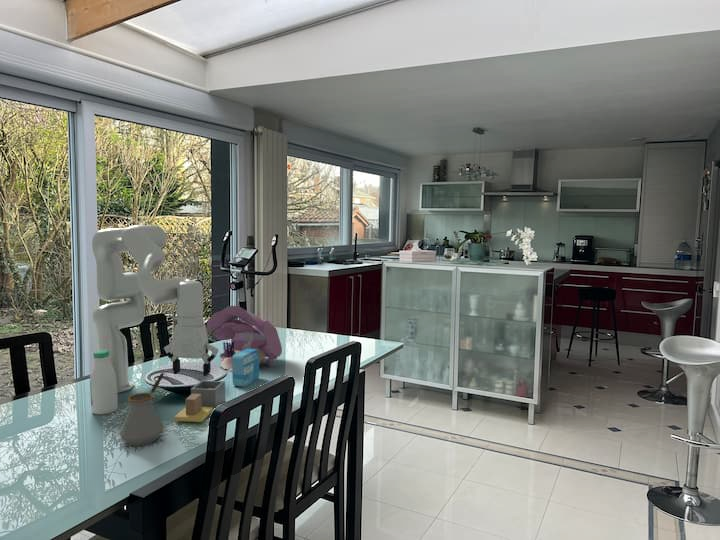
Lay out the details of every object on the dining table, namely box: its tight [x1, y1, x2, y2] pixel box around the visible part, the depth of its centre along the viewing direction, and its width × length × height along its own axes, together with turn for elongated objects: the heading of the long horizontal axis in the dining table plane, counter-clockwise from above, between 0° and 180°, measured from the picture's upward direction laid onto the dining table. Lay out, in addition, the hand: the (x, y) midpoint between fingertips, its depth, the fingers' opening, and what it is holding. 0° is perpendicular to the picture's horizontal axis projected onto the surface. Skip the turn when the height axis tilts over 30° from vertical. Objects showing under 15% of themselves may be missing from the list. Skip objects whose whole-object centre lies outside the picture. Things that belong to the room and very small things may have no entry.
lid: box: [173, 393, 214, 423], centre depth 162 cm, size 9×9×7 cm
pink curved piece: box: [205, 305, 283, 372], centre depth 217 cm, size 35×24×28 cm
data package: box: [231, 348, 260, 388], centre depth 195 cm, size 12×4×12 cm, turn 161°
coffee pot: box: [119, 372, 168, 447], centre depth 151 cm, size 21×12×15 cm, turn 177°
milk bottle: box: [89, 350, 119, 415], centre depth 167 cm, size 8×8×20 cm
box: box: [190, 380, 226, 409], centre depth 173 cm, size 8×8×7 cm
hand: (191, 373), depth 161 cm, fingers open, 9 cm apart
